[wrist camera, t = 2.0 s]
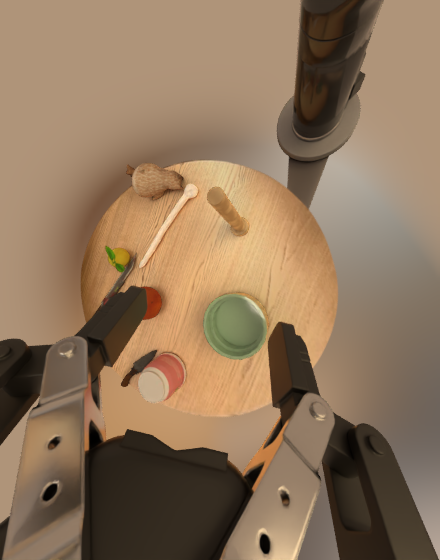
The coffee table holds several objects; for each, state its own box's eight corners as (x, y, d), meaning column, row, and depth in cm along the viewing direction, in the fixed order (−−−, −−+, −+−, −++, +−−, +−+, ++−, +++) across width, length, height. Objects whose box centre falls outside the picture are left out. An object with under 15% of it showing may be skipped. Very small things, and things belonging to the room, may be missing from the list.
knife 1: (138, 251, 56) (90, 320, 62) (134, 251, 54) (85, 321, 60) (144, 257, 55) (95, 326, 61) (140, 257, 53) (90, 328, 60)
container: (170, 372, 42) (187, 357, 49) (134, 361, 45) (155, 348, 53) (167, 415, 43) (184, 393, 50) (132, 400, 46) (153, 382, 54)
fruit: (166, 318, 52) (146, 324, 45) (141, 314, 55) (119, 319, 48) (168, 287, 52) (148, 288, 44) (143, 285, 55) (120, 286, 47)
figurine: (146, 189, 57) (191, 193, 54) (128, 205, 51) (177, 210, 48) (134, 155, 50) (185, 158, 47) (112, 169, 44) (168, 173, 41)
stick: (240, 214, 45) (216, 175, 28) (252, 226, 44) (234, 193, 27) (228, 228, 46) (197, 197, 29) (239, 240, 45) (214, 215, 28)
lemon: (114, 240, 55) (101, 248, 46) (134, 247, 57) (126, 255, 48) (109, 260, 57) (96, 272, 48) (129, 266, 59) (120, 278, 50)
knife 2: (121, 390, 55) (113, 375, 55) (127, 385, 57) (119, 371, 57) (162, 366, 51) (153, 350, 51) (166, 362, 53) (157, 347, 53)
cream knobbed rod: (148, 274, 54) (141, 274, 51) (139, 265, 55) (132, 265, 52) (202, 191, 49) (198, 186, 46) (191, 183, 50) (186, 178, 47)
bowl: (240, 280, 45) (235, 280, 40) (281, 326, 42) (281, 333, 37) (201, 316, 49) (191, 321, 43) (236, 361, 46) (231, 372, 40)
